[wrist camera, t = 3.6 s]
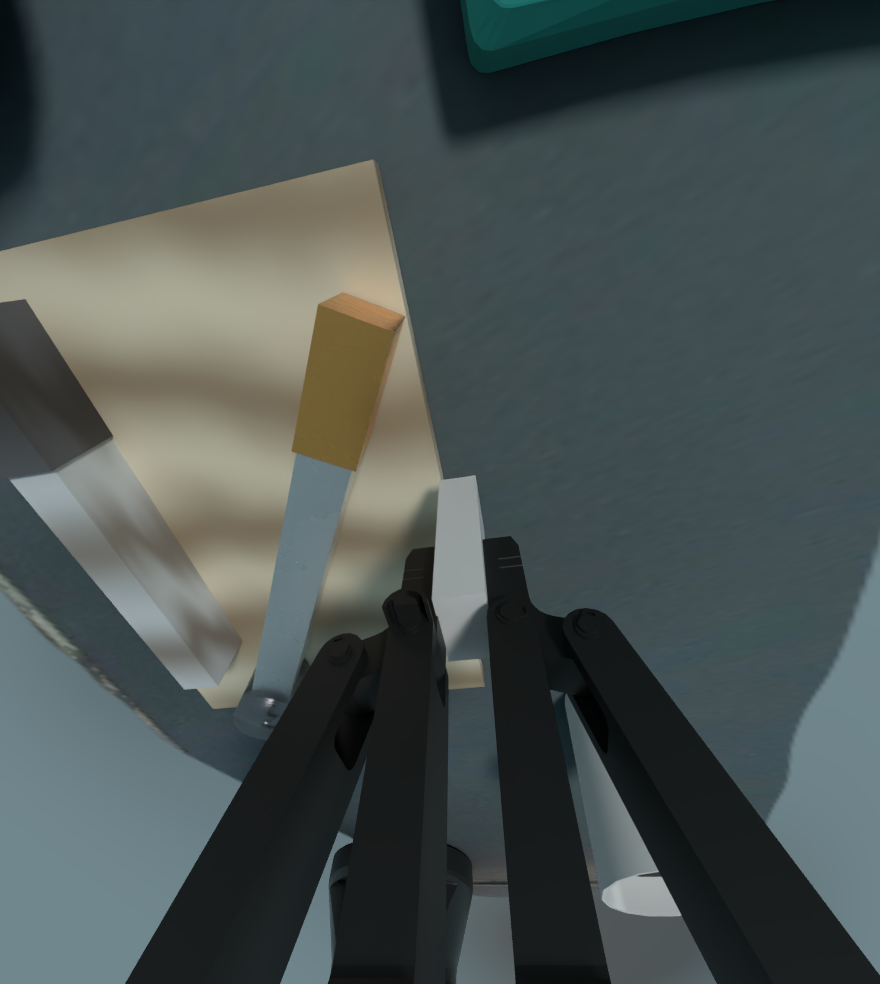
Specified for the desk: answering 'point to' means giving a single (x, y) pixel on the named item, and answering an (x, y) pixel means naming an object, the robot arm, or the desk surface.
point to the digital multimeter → (566, 25)
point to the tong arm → (318, 491)
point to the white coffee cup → (615, 836)
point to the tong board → (211, 414)
